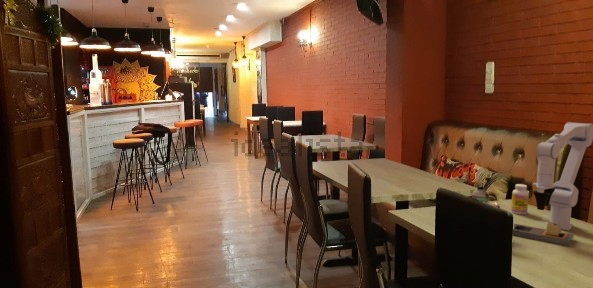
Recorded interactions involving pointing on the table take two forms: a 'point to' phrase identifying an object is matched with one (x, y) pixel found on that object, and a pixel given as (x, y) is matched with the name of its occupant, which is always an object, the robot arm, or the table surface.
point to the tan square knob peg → (553, 229)
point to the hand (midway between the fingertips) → (542, 207)
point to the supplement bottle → (520, 199)
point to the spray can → (480, 194)
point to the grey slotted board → (542, 235)
